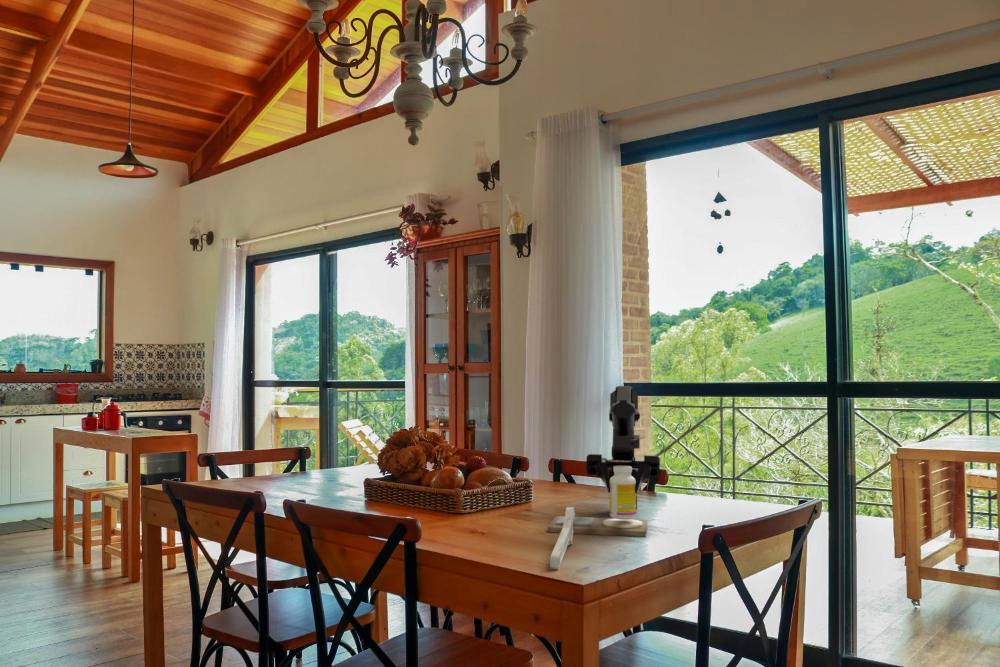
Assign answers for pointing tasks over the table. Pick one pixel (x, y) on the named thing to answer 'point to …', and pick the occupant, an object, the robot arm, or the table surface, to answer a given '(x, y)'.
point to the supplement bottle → (622, 493)
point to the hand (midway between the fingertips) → (622, 492)
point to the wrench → (563, 539)
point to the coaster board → (602, 526)
